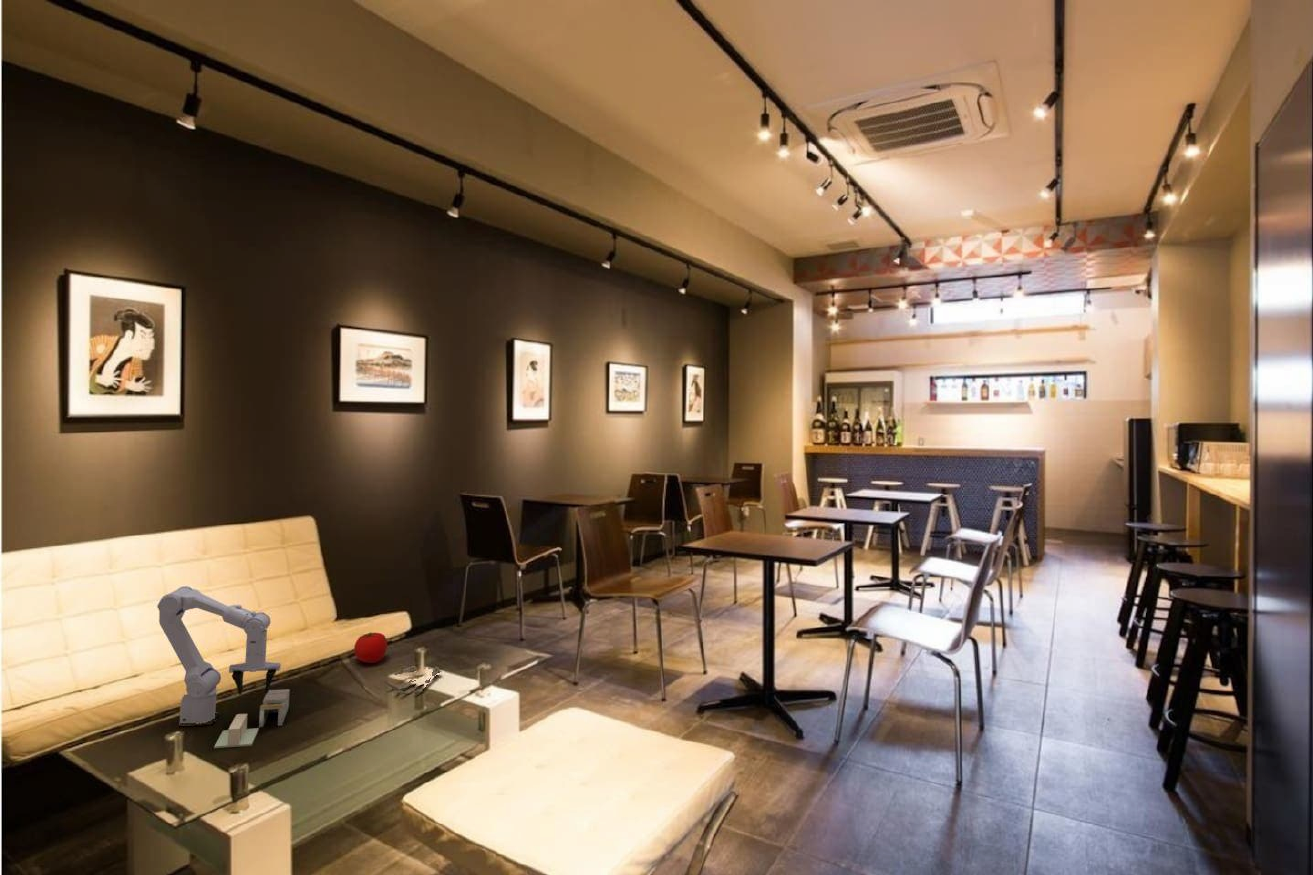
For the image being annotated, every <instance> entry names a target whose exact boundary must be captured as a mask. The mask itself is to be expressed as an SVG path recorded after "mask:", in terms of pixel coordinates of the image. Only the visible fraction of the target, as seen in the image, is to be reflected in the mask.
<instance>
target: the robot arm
mask: <svg viewBox="0 0 1313 875" xmlns="http://www.w3.org/2000/svg"><path fill="white" fill-rule="evenodd" d="M156 608H157V609H158V612H159V614H158V615H159V616H158V620H159V621H158V622H159V625H160V628H161V629H162V630H163V633H164V634H165V636H166V638H167V640H168V641H169V643H170V645H171V648H173V650H174V652H175V654H176V656H177V658H178V659H179V662H180V664H181V665H182V667H183V669H184V671H185V674H184V678H183V681H184V683H185V686H186V689H185V691H186V693H187V694H184V695H183V696H182V698H181V702H180V705H179V706H180V708H179V724H180V723H196V724H199V723H200V724H201V723H206V722H208V721H211V720H212V719H214V718H215V713H217V712H216V711H217V710H216V709H217V708H216V707H217V692H218V690H217V686H218V685H219V684H220V683H221V681H222V680H221V679H222V677H221V674H220V672H219V671H218V670H217V669H215V668H214V667H213V665H212V663H209V662H207V661H205V659H204V658H203V656H202V654H201V653H200V651H199V649H198V647H197V646H196V643H195V642H194V640H193V638H192V637H191V634H190V633H189V631H188V629H187V626H186V625H185V624H184V622H183V619H182V618H183V617H184V615H185V612H186V611H189V610H193V609H199V610H203V611H205V612H209V613H211V614H214V615H217V616H220V617H222V620H223V622H225V623H227V624H229V625H231V626H234V627H236V628H239V629H242V630H243V631H244V632H245V634H246V643H245V645H246V646H245V647H246V648H245V662H243V663H237V664H230V665H229V666H228V673H229V674H232V675H231V678H232V680H233V681H234V683H235V685H236V688H237V692H238V695H242V693H243V689H244V685H243V684H244V683H243V682H244V680H243V679H244V672H249V673H252V672H253V673H255V672H261V671H263V672H265V671H267V672H266V673H265V690H264V691H265V692H264V693H265V694H266V693H268V691H269V690H270V688H271V683H272V681H273V678H274V677H275V674H276V673H277V672H279V671H280V670H281V664H282V663H281V662H270V661H266V659H267V658H266V657H267V656H266V655H267V640H268V628H269V627H270V625H271V618H270V616H269V615H268V614H266V613H265V612H263V611H260V612H256V611H254V610H252V611H251V610H249V609H246V608H243V605H240V604H237V605H236V604H231V605H229V606H228V605H227V604H224V603H222V602H220V601H218V600H216V599H214V598H212V597H210V596H207V595H206V594H203V593H201V591H199V590H198V589H195V588H192V587H190V586H187V585H186V586H185V585H184V586H180V587H179V588H177V589H175V590H174V591H172V592H170V593H168V594H165V595H163V596H162V597H161V599H160V600H159V602H158V604H157V606H156ZM183 719H186V720H183Z"/></svg>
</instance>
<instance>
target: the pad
mask: <svg viewBox="0 0 1313 875" xmlns="http://www.w3.org/2000/svg"><path fill="white" fill-rule="evenodd" d="M259 730H260V727H257V728H254V727H253V728H247V729H246V731H245V733H244V735H243V737H242V739H241V741H240V743H239V745H228V729H227V730H225V729H224V730H223V729H222V732H221V734H219V737H218V739H217V741H216V743H214V744H215V745H214V747H213V748H214V749H220V748H221V749H222V748H223V749H224V748H239V747H251V746H253V744H254V741H255V739H256V737H257V735H258V732H259Z"/></svg>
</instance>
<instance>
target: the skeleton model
mask: <svg viewBox="0 0 1313 875" xmlns="http://www.w3.org/2000/svg"><path fill="white" fill-rule="evenodd" d="M417 668H418V667H415V666H409V667H407V668H404V669H402V668H401V669H399V670H398V671H395V672H394V673H393V674H394V675H395V676H397V675H402V674H410V673H415V672H414V671H416V669H417ZM427 668H428V669H430V668H431V669H432V667H427ZM432 670H433V672H432V676H435V675H436V674H437V673H440V672H441V673H442V671H441V670H440V668H439V667H438V666H435V668H433V669H432ZM435 677H436V676H435ZM430 679H431V678H430ZM430 679H429V680H426V681H425V683H429V682H430ZM414 681H416V680H414ZM414 681H412V680H410V681H409V682H408V683H411V682H414ZM384 683H385V684H386V685H387V686H389V687H390V688H391V689H393V690H394V691H397V692H398V693H399V694H402V695H410V694H412V693H413V692H414V693H416V694H420V693H423V688H421V689H419V690H417V689H416V690H414V689H412V688H411V689H408V688H410V687H409V686H408V684H406V685H404V686H400V687H399V686H398V685H392V684H391V683H390V682H387V681H384ZM430 683H431V682H430ZM430 683H429V684H430ZM405 689H407V691H406V692H405V691H403V690H405Z"/></svg>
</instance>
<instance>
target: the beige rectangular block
mask: <svg viewBox="0 0 1313 875" xmlns="http://www.w3.org/2000/svg"><path fill="white" fill-rule="evenodd" d="M246 729H248V713H238V714H237V713H236V715H235V717H234V718H233V720H232V722H231V724H230V725H229V728H228V729H227V730H228V745H239V743H240V741H241V739H242V737H243V735H244V733H245V731H246Z"/></svg>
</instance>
